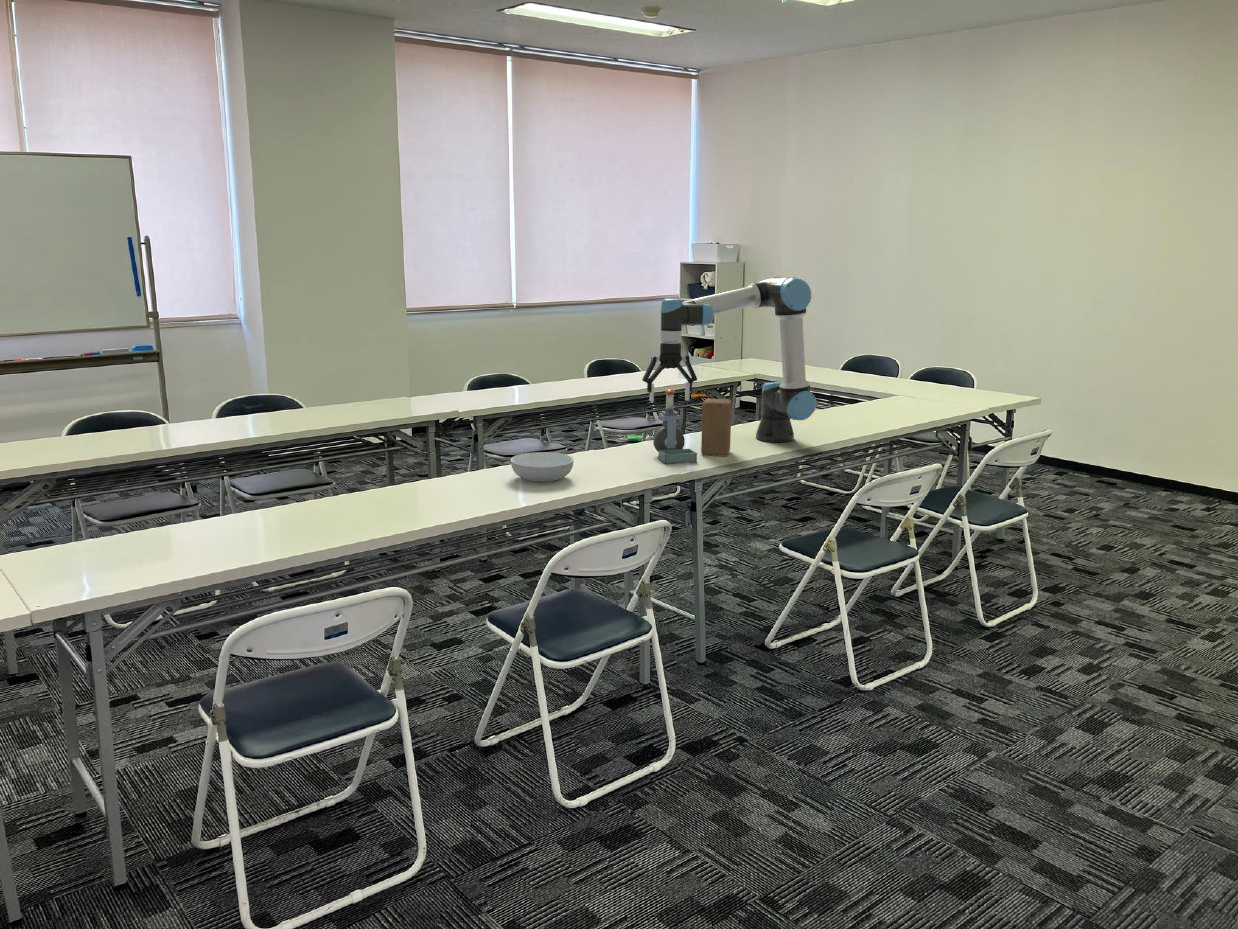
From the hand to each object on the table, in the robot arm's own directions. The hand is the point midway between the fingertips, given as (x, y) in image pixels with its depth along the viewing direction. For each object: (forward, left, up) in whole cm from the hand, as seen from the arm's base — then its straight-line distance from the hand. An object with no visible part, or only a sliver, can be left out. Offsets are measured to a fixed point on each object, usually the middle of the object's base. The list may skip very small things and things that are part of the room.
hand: (669, 400), depth 338 cm
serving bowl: (+51, +23, -21) cm, 60 cm away
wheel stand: (0, 0, -21) cm, 21 cm away
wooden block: (-19, 0, -21) cm, 28 cm away
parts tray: (-1, +9, -21) cm, 22 cm away
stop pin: (0, 0, -5) cm, 5 cm away
